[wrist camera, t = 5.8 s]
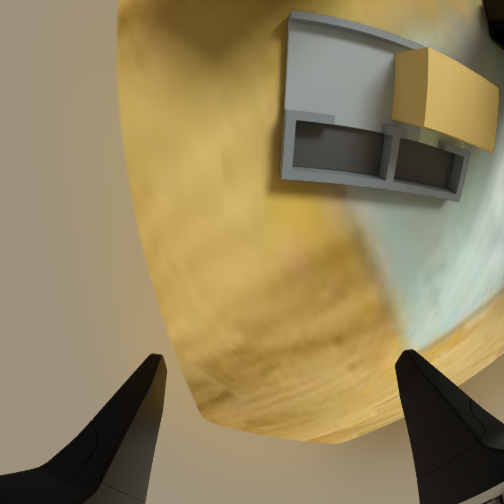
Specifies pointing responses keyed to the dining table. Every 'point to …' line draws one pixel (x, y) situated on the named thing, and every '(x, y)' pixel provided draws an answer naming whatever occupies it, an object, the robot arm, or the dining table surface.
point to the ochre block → (445, 98)
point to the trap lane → (357, 114)
